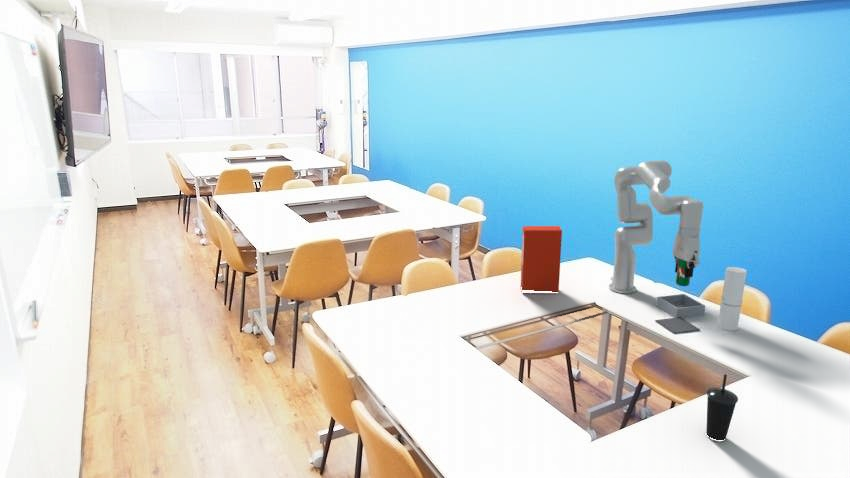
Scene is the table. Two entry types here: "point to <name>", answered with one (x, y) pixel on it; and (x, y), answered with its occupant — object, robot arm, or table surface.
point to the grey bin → (691, 310)
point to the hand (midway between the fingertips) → (683, 274)
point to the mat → (677, 325)
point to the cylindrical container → (732, 298)
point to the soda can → (682, 273)
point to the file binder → (541, 258)
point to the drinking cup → (720, 411)
